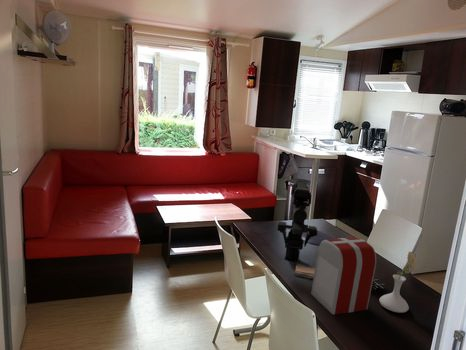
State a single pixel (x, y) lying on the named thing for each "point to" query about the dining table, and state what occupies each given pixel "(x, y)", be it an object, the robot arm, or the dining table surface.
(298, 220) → the robot arm
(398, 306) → the flower in vase
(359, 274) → the striped gift box
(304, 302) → the dining table surface
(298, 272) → the birch dock
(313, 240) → the toy spaceship
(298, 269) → the terracotta tile
